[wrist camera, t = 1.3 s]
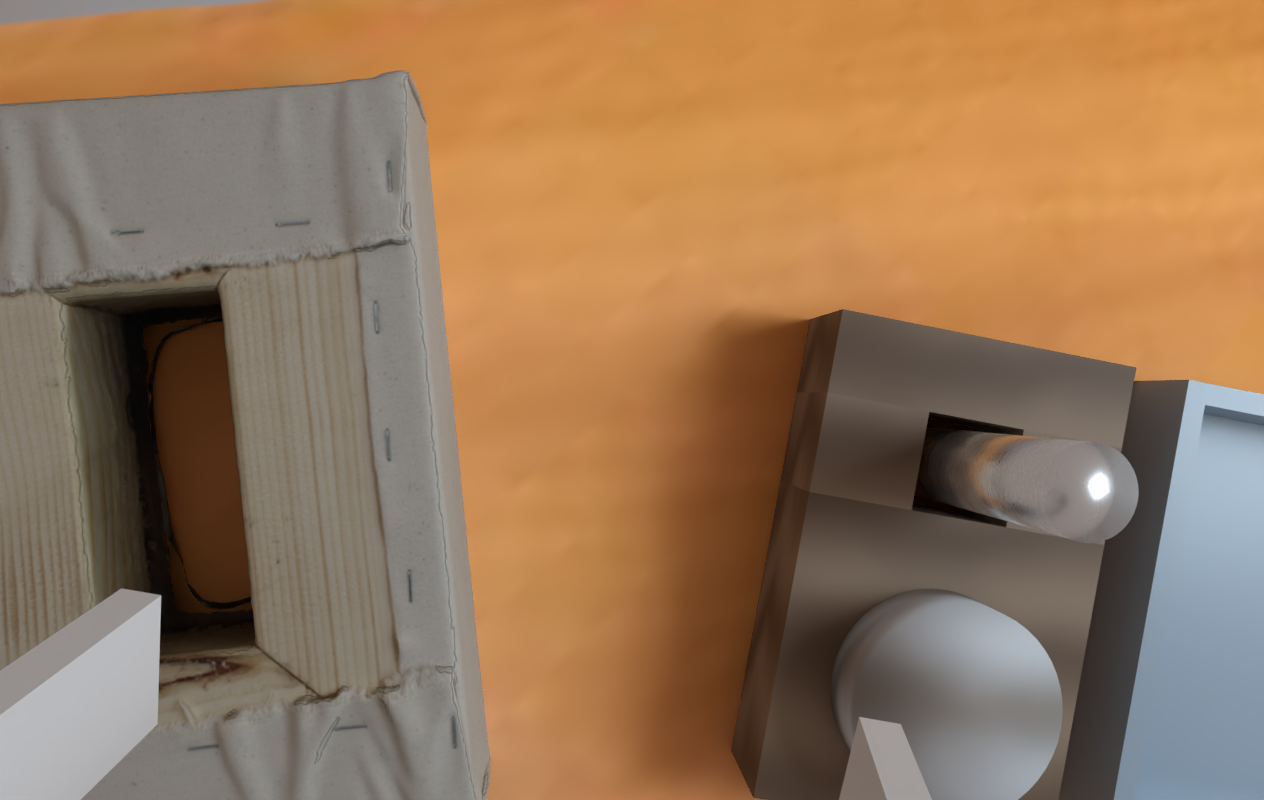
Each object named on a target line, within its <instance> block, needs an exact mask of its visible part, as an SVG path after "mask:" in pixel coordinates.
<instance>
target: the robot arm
mask: <svg viewBox="0 0 1264 800" xmlns="http://www.w3.org/2000/svg"><path fill="white" fill-rule="evenodd" d="M160 621H161V595H157V594H151V593H145V592H139V591H134V590H128V589H122V588H121V589H120V590H118V591H117V592H115V593H114V594H112V595H111V596H109V597H108V598H107V599H105V600H104V601H102V602H101V603H99V604H98V605H96V606H95V607H93V608H92V609H90V610H89V611H87V612H86V613H84V614H83V615H81V616H80V617H79V618H77V619H76V620H74V621H73V622H71V623H70V624H68V625H67V626H65V627H64V628H62V629H61V630H59V631H58V632H56V633H55V634H54V635H52V636H51V637H49V638H48V639H46V640H45V641H43V642H42V643H40V644H39V645H37V646H36V647H34V648H33V649H31V650H30V651H28V652H27V653H26V654H24V655H23V656H21V657H20V658H18V659H17V660H15V661H14V662H12V663H11V664H9V665H8V666H6V667H5V668H3V669H2V670H0V800H81V799H82V798H83V797H84V796H85V795H86V794H87V793H88V792H89V791H90V790H91V789H92V788H93V787H94V786H95V785H96V784H97V783H98V782H99V781H100V780H101V779H102V778H103V777H104V776H105V775H106V774H107V773H108V772H109V771H110V770H111V769H112V768H113V767H115V766H116V765H117V764H118V763H119V762H120V761H121V760H122V759H123V758H124V757H125V756H126V755H127V754H128V753H129V752H130V751H131V750H132V749H133V748H134V747H135V746H136V745H137V744H138V743H139V742H140V741H141V740H142V739H143V738H144V737H145V736H146V735H147V734H148V733H149V732H150V731H151V730H152V729H153V728H154V727H155V726H156V725H157V724H158V691H159V656H160ZM839 800H932V799H931V796H930V794H929V791H928V789H927V787H926V784H925V782H924V779H923V777H922V774H921V772H920V770H919V767H918V765H917V762H916V760H915V757H914V755H913V752H912V750H911V748H910V745H909V743H908V740H907V738H906V735H905V733H904V731H903V728H902V726H901V724H898V723H892V722H886V721H880V720H875V719H869V718H863V717H859V720H858V724H857V728H856V732H855V736H854V740H853V744H852V748H851V752H850V756H849V760H848V765H847V769H846V773H845V777H844V781H843V785H842V789H841V793H840V797H839Z"/></svg>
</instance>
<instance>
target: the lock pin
mask: <svg viewBox="0 0 1264 800" xmlns="http://www.w3.org/2000/svg"><path fill="white" fill-rule="evenodd" d="M914 495H917V496H921V497H924V498H928V499H931V500H935V501H938V502H942V503H945V504H949V505H952V506H956V507H959V508H963V509H966V510H970V511H973V512H977V513H980V514H984V515H987V516H991V517H994V518H998V519H1001V520H1005V521H1008V522H1012V523H1015V524H1019V525H1022V526H1026V527H1029V528H1033V529H1036V530H1040V531H1043V532H1047V533H1050V534H1054V535H1057V536H1061V537H1064V538H1068V539H1071V540H1075V541H1078V542H1083V543H1096V542H1101V541H1105V540H1107V539H1110V538H1112V537H1113V536H1115V535H1117V534H1118V533H1119V532H1120V531H1122V530H1123V529H1124V528H1125V527H1126V525H1127V524H1128V523H1129V521H1130V520H1131V518H1132V516H1133V514H1134V512H1135V509H1136V506H1137V502H1138V495H1139V493H1138V481H1137V478H1136V474H1135V472H1134V469H1133V468H1132V466H1131V464H1130V463H1129V461H1128V460H1127V459H1126V458H1125V457H1124V455H1123V454H1121V453H1120V452H1119V451H1118V450H1116V449H1114V448H1113V447H1111V446H1108V445H1106V444H1102V443H1097V442H1087V441H1076V440H1065V439H1054V438H1043V437H1032V436H1020V435H1009V434H998V433H987V432H976V431H965V430H954V429H943V428H932V427H927V428H926V433H925V439H924V444H923V450H922V455H921V461H920V466H919V472H918V477H917V483H916V488H915V493H914Z"/></svg>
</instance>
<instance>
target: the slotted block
mask: <svg viewBox="0 0 1264 800" xmlns="http://www.w3.org/2000/svg"><path fill="white" fill-rule="evenodd" d="M207 317H208V318H207ZM202 318H207V319H206V320H205V321H203V322H202V323H200V324H197V325H192V326H182V327H178V328H176V329H174V330H173V331H171V332H170V333H168V334H167V335H166V336H165V337H164V338H163V339H162V341H161V342H160V344H159V346H158V348H157V350H156V353H155V357H154V360H153V364H152V370H151V374H150V378H149V384H148V390H149V393H150V395H151V401H150V409H149V414H150V422H151V430H150V422H149V418H148V394H147V383H146V380H147V379H146V375H147V371H148V360H147V351H146V349H145V347H144V341H143V334H142V332H143V328H144V327H147V326H148V325H155V324H163V323H166V322H171V323H174V322H176V321H179V320H190V319H202ZM216 321H223V325H224V337H225V349H226V355H227V367H228V379H229V388H230V398H231V406H232V419H233V425H234V432H235V447H236V456H237V466H238V472H239V480H240V493H241V502H242V512H243V521H244V531H245V543H246V549H247V555H248V571H249V577H250V587H251V596H250V597H248V598H245V599H242V600H239V601H235V602H230V603H217V602H209V601H206V600H204V599H202V598H201V597H200V596H199V595H198V594H197V593H196V592H195V591H194V590H193V589H192V588H191V587H190V586H189V584H188V583H187V584H188V587H189V589H190V591H191V592H192V594H193V595H194V597H195V598H196V599H197V600H198V601H199V602H200V603H201V604H202V605H204V606H206V607H209V608H215V609H228V608H234V607H236V606H239V605H242V604H245V603H248V602H251V605H252V609H250V610H248V611H246V610H241V611H235V612H214V613H210V614H207V613H197V614H194V613H186V612H182V611H179V609H177V607H176V605H175V603H174V593H173V590H172V588H173V585H172V583H171V577H170V574H169V569H168V568H169V562H168V554H169V549H168V546H167V543H166V537H165V533H166V535H167V536H168V538H169V540H170V542H171V544H172V545H173V547H174V548H175V550H176V551H177V553H178V555H179V557H180V558H181V556H180V554H179V551H178V548H177V546H176V543H175V540H174V537H173V533H172V529H171V524H170V518H169V511H168V503H167V496H166V490H165V485H164V480H163V475H162V471H161V467H160V463H159V458H158V450H157V442H156V433H155V424H154V411H153V379H154V372H155V366H156V362H157V357H158V354H159V351H160V349H161V347H162V345H163V344H164V342H165V341H166V340H167V339H168V338H170V337H171V336H172V335H174V334H176V333H179V332H182V331H185V330H188V329H191V328H194V327H197V326H200V325H203V324H206V323H209V322H216ZM151 433H152V434H151ZM162 503H163V507H162ZM164 531H165V533H164ZM181 561H182V558H181ZM182 563H183V561H182ZM183 566H184V565H183ZM184 569H185V568H184ZM185 573H186V572H185ZM186 580H187V578H186ZM121 588H122V589H128V590H134V591H139V592H145V593H151V594H157V595H161V621H160V656H159V691H158V724H157V725H156V726H155V727H154V728H153V729H152V730H151V731H150V732H149V733H148V734H147V735H146V736H145V737H144V738H143V739H142V740H141V741H140V742H139V743H138V744H137V745H136V746H135V747H134V748H133V749H132V750H131V751H130V752H129V753H128V754H127V755H126V756H125V757H124V758H123V759H122V760H121V761H120V762H119V763H118V764H117V765H116V766H115V767H113V768H112V769H111V770H110V771H109V772H108V773H107V774H106V775H105V776H104V777H103V778H102V779H101V780H100V781H99V782H98V783H97V784H96V785H95V786H94V787H93V788H92V789H91V790H90V791H89V792H88V793H87V794H86V795H85V796H84V797H83V798H82V799H81V800H486V798H487V792H488V787H489V776H490V775H489V774H490V749H489V744H488V736H487V727H486V718H485V709H484V700H483V691H482V682H481V672H480V663H479V654H478V645H477V634H476V625H475V616H474V604H473V593H472V584H471V574H470V564H469V555H468V544H467V534H466V525H465V515H464V505H463V495H462V485H461V474H460V465H459V455H458V445H457V435H456V425H455V415H454V405H453V395H452V384H451V374H450V365H449V355H448V345H447V336H446V327H445V317H444V307H443V295H442V285H441V275H440V264H439V253H438V243H437V233H436V224H435V214H434V204H433V194H432V184H431V173H430V162H429V151H428V141H427V123H426V117H425V114H424V111H423V107H422V103H421V99H420V96H419V93H418V91H417V88H416V86H415V84H414V81H413V80H412V77H411V76H410V74H409V72H407V71H392V72H387V73H383V74H380V75H378V76H376V77H374V78H368V79H354V80H347V81H343V82H338V83H326V84H312V85H291V86H278V87H264V88H251V89H234V90H218V91H205V92H191V93H169V94H155V95H139V96H124V97H107V98H95V99H76V100H58V101H46V102H30V103H14V104H0V670H2V669H3V668H5V667H6V666H8V665H9V664H11V663H12V662H14V661H15V660H17V659H18V658H20V657H21V656H23V655H24V654H26V653H27V652H28V651H30V650H31V649H33V648H34V647H36V646H37V645H39V644H40V643H42V642H43V641H45V640H46V639H48V638H49V637H51V636H52V635H54V634H55V633H56V632H58V631H59V630H61V629H62V628H64V627H65V626H67V625H68V624H70V623H71V622H73V621H74V620H76V619H77V618H79V617H80V616H81V615H83V614H84V613H86V612H87V611H89V610H90V609H92V608H93V607H95V606H96V605H98V604H99V603H101V602H102V601H104V600H105V599H107V598H108V597H109V596H111V595H112V594H114V593H115V592H117V591H118V590H120V589H121Z"/></svg>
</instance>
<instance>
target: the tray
mask: <svg viewBox="0 0 1264 800" xmlns="http://www.w3.org/2000/svg"><path fill="white" fill-rule="evenodd" d="M1121 454H1123V455H1124V457H1125V458H1126V459H1127V460H1128V461H1129V463H1130V464H1131V466H1132V468H1133V469H1134V472H1135V474H1136V478H1137V481H1138V493H1139V495H1138V502H1137V506H1136V509H1135V512H1134V514H1133V516H1132V518H1131V520H1130V521H1129V523H1128V524H1127V525H1126V527H1125V528H1124V529H1123V530H1122V531H1120V532H1119V533H1118V534H1117V535H1115V536H1113V537H1112V538H1110V539H1107V540H1105V544H1104V550H1103V555H1102V561H1101V566H1100V572H1099V578H1098V583H1097V589H1096V594H1095V600H1094V605H1093V611H1092V616H1091V622H1090V628H1089V633H1088V639H1087V644H1086V650H1085V655H1084V661H1083V666H1082V672H1081V677H1080V683H1079V689H1078V694H1077V700H1076V705H1075V711H1074V716H1073V722H1072V727H1071V733H1070V739H1069V744H1068V750H1067V755H1066V761H1065V766H1064V772H1063V777H1062V783H1061V788H1060V794H1059V800H1264V395H1263V394H1258V393H1253V392H1248V391H1243V390H1237V389H1232V388H1227V387H1222V386H1217V385H1212V384H1207V383H1202V382H1197V381H1192V380H1164V381H1134V383H1133V389H1132V394H1131V400H1130V406H1129V411H1128V417H1127V422H1126V428H1125V433H1124V439H1123V444H1122V450H1121Z"/></svg>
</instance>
